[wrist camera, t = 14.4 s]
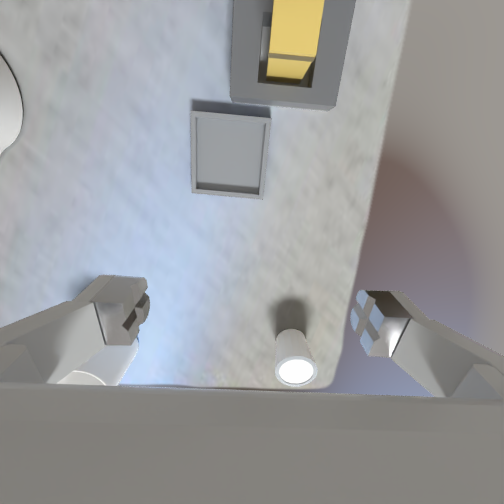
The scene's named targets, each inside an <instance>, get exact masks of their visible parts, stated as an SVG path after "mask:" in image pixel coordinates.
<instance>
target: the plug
mask: <svg viewBox="0 0 504 504" xmlns="http://www.w3.org/2000/svg"><path fill="white" fill-rule="evenodd" d="M323 7H324V0H273V9H272V20H271V31H270V42H269V53H268V66H267V77H266V81H273V82H283V83H294V84H299V83H300V82H301V80H302V78H303V77H304V75H305V73H306V71H307V70H308V68H309V66H310V65H311V63H312V62H313V61H314V59H315V56H316V52H317V46H318V39H319V33H320V26H321V20H322V13H323Z"/></svg>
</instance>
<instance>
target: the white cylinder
mask: <svg viewBox="0 0 504 504" xmlns="http://www.w3.org/2000/svg"><path fill="white" fill-rule="evenodd" d="M317 370H318V369H317V367H316V364H315V361H314V359H313V356H312V354H311V351H310V348H309V346H308V343H307V341H306V338H305V336H304V334H303V333H302V332H301V331H299V330H296V329H287V330H283V331H282V332H280V333H279V334H278V336H277V337H276V357H275V375H276V377H277V379H278V380H279V381H280V382H282V383H283V384H285V385H288V386H302V385H306V384H308V383H310V382H311V381H313V379H314V378H315V377H316V376H317Z"/></svg>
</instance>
